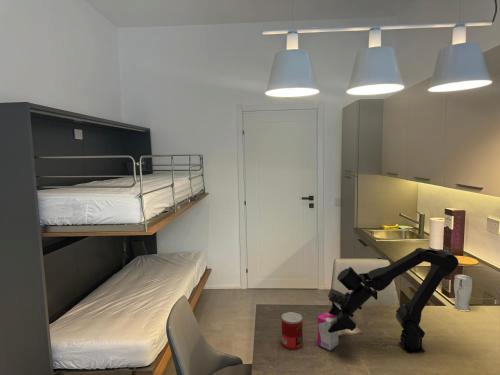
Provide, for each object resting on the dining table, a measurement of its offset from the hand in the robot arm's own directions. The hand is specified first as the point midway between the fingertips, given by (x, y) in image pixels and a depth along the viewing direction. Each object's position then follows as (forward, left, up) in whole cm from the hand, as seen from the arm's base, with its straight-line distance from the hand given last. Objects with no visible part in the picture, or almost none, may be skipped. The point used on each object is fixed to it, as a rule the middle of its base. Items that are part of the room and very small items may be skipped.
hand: (327, 326), depth 128 cm
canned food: (+13, -3, -8) cm, 15 cm away
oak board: (-10, -12, -8) cm, 18 cm away
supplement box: (0, 0, -8) cm, 8 cm away
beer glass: (-70, -19, -8) cm, 73 cm away
